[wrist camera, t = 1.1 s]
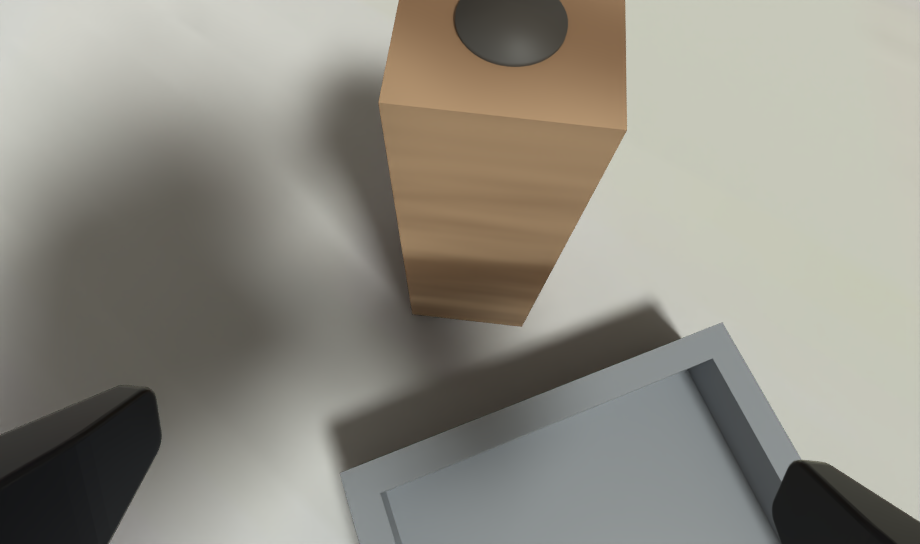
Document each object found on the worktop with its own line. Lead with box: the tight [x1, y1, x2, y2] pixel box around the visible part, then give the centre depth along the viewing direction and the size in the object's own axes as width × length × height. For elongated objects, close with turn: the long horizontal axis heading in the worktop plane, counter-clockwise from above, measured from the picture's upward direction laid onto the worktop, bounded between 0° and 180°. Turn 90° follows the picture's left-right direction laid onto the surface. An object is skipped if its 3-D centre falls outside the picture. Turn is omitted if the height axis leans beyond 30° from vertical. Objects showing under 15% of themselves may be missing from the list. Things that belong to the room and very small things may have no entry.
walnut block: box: [378, 0, 627, 327], centre depth 16 cm, size 4×4×13 cm
